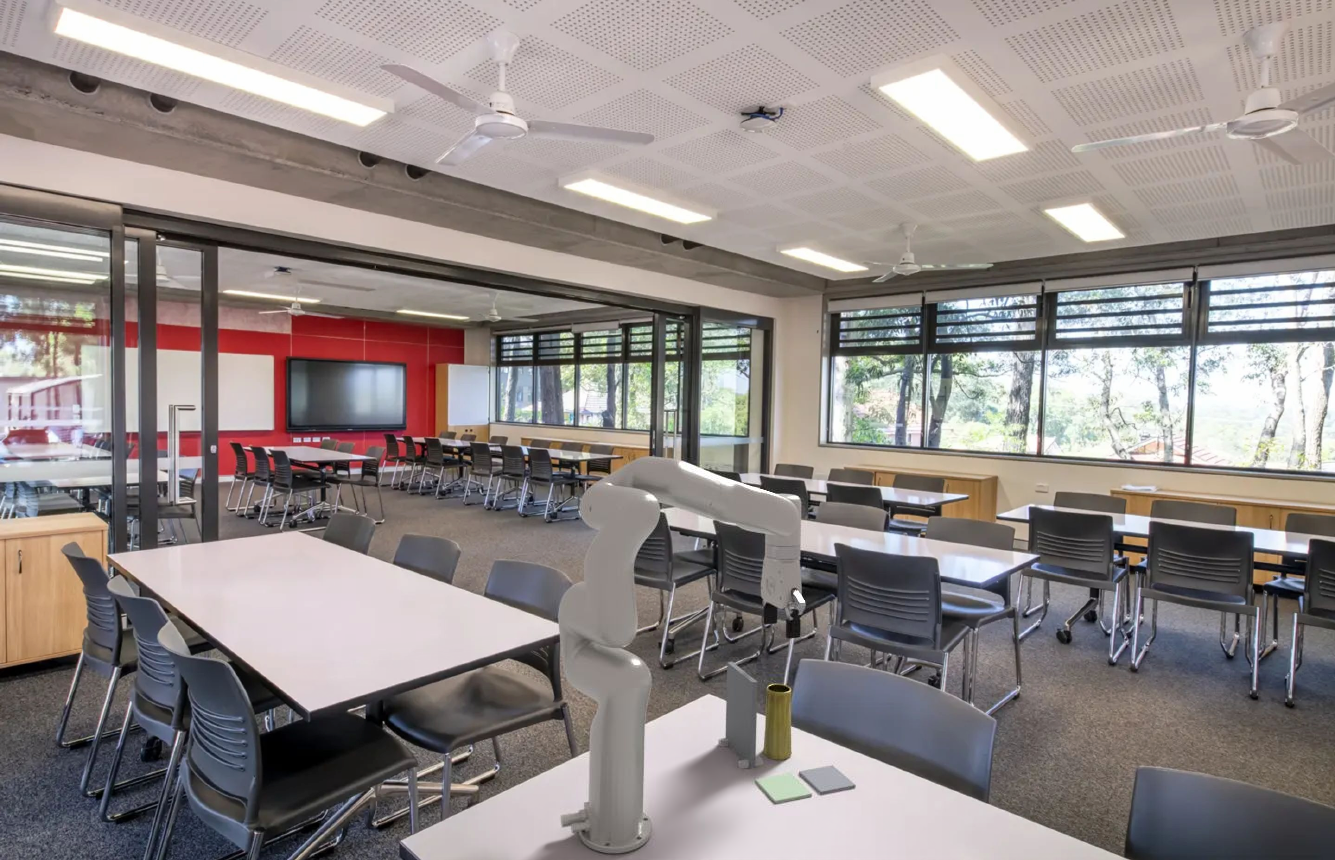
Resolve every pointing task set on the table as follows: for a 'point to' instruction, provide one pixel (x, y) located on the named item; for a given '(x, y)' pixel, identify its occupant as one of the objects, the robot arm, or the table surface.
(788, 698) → the vase
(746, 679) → the screen
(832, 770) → the pad slate
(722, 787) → the table surface
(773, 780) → the pad sage
